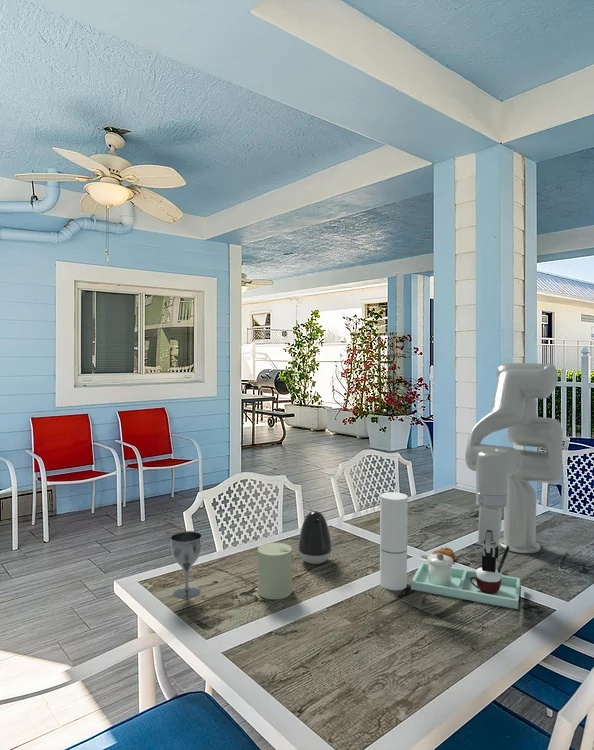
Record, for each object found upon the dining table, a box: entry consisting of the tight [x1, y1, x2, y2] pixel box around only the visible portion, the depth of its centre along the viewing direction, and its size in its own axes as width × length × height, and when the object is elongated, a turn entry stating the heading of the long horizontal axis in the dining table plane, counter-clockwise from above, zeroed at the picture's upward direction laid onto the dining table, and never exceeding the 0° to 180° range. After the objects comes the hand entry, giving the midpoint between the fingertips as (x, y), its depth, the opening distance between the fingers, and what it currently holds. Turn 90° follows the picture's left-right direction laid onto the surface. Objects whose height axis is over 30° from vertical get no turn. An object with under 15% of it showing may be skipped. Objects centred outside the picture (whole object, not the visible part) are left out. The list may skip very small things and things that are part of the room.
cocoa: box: [470, 546, 510, 594], centre depth 136 cm, size 10×6×12 cm, turn 57°
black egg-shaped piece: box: [297, 510, 333, 565], centre depth 159 cm, size 10×10×15 cm
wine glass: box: [170, 530, 203, 600], centre depth 138 cm, size 8×8×15 cm
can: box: [256, 542, 293, 600], centre depth 139 cm, size 9×9×12 cm
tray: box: [410, 561, 521, 610], centre depth 139 cm, size 14×26×3 cm, turn 66°
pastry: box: [431, 547, 458, 562], centre depth 158 cm, size 9×7×4 cm
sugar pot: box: [427, 553, 454, 587], centre depth 142 cm, size 7×7×8 cm
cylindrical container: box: [379, 491, 408, 591], centre depth 140 cm, size 7×7×25 cm
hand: (490, 564), depth 136 cm, fingers open, 9 cm apart
